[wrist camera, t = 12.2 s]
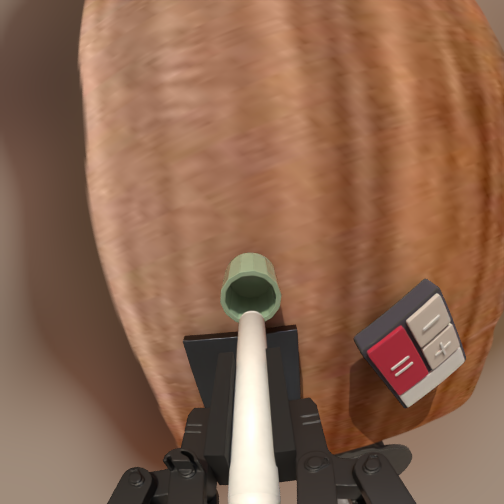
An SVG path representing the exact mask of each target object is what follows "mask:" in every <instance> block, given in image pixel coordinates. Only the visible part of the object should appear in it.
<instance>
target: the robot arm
mask: <svg viewBox="0 0 504 504" xmlns="http://www.w3.org/2000/svg"><path fill="white" fill-rule="evenodd" d="M266 361H267V373H268V385H269V398H270V410H271V423H272V436H273V449H274V457H275V463H276V466H277V467H278V475H279V482H285V481H293V480H297V504H416V502H415V501H414V499H413V498H412V496H411V494H410V493H409V491H408V490H407V488H406V487H405V485H404V483H403V482H402V480H401V479H400V477H399V476H398V474H397V473H396V471H395V469H394V468H393V466H392V465H391V463H390V462H389V460H388V459H387V458H386V457H385V456H384V455H383V454H380V453H375V452H371V453H367V454H364V455H362V456H361V457H359V458H358V459H345V458H339V457H336V456H334V455H333V454H331V452H330V451H329V450H328V448H327V445H326V441H325V437H324V433H323V429H322V425H321V421H320V417H319V413H318V409H317V405H316V404H315V403H314V402H313V401H312V399H311V398H304V399H298V400H291V401H289V400H288V394H287V387H286V381H285V375H284V368H283V362H282V356H281V350H280V347H274V348H266ZM235 375H236V365H235V360H234V355H233V352H225V353H219V354H218V360H217V366H216V373H215V379H214V386H213V392H212V399H211V405H210V408H194V409H193V410H192V411H191V413H190V414H189V415H188V418H187V423H186V427H185V433H184V436H183V441H182V445H181V448H177V449H174V450H171V451H170V452H168V453H167V454H166V455H165V457H164V459H163V462H164V463H165V464H166V466H167V467H168V469H165V470H160V471H154V472H148V470H146V469H144V468H140V467H134V468H130V469H129V470H127V471H126V472H125V473H124V474H123V476H122V477H121V479H120V481H119V483H118V485H117V487H116V489H115V490H114V492H113V494H112V496H111V498H110V500H109V501H108V503H107V504H219V495H218V491H217V489H216V486H217V482H218V483H219V485H229V469H230V456H231V439H232V422H233V406H234V390H235Z"/></svg>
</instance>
